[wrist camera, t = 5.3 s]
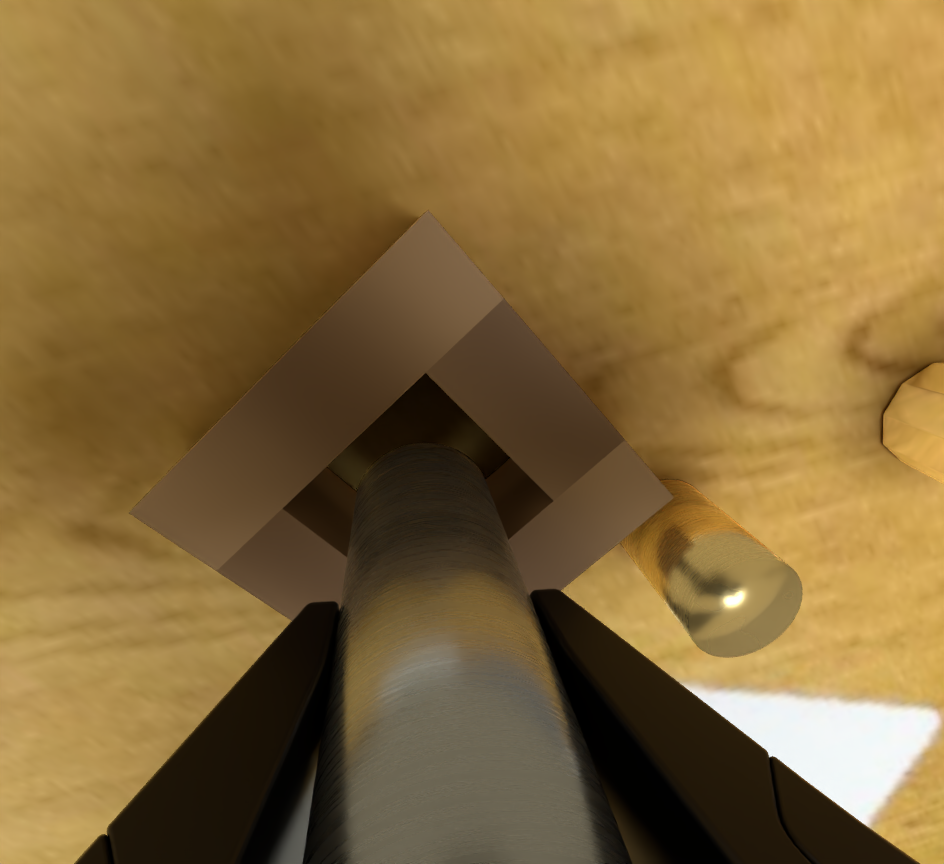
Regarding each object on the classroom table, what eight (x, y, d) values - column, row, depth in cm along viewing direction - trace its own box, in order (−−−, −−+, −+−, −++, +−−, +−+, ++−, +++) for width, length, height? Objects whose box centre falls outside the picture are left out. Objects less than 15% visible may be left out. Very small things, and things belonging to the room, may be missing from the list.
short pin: (649, 575, 16) (726, 675, 12) (599, 523, 15) (666, 615, 11) (720, 518, 16) (821, 605, 12) (673, 461, 15) (768, 536, 11)
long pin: (422, 582, 11) (504, 1541, 3) (326, 507, 10) (45, 1629, 2) (515, 501, 11) (905, 1341, 3) (424, 415, 10) (589, 1330, 2)
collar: (415, 621, 15) (420, 705, 13) (187, 451, 12) (128, 513, 10) (619, 446, 14) (673, 497, 11) (419, 217, 11) (428, 209, 9)
